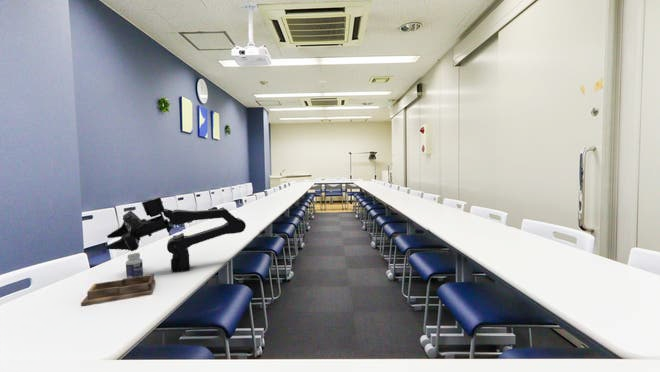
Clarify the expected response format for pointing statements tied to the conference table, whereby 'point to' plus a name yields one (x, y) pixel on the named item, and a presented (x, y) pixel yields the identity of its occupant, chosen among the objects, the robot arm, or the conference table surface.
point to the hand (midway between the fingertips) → (106, 242)
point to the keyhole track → (119, 290)
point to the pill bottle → (134, 266)
